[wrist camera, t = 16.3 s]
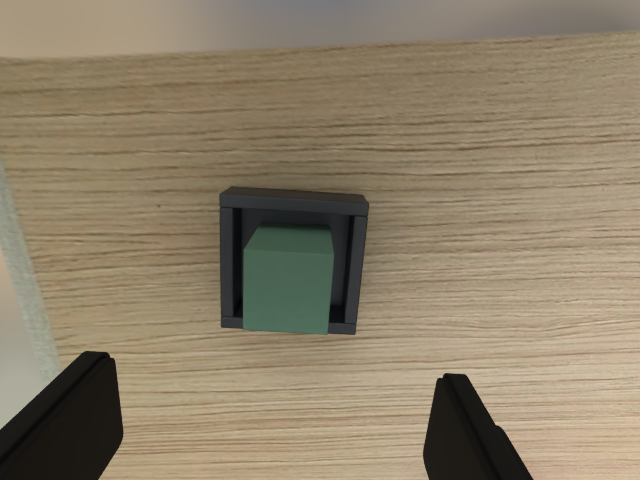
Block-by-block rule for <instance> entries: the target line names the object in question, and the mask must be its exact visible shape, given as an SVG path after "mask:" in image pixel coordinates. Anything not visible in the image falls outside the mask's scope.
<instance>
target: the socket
mask: <svg viewBox="0 0 640 480" xmlns="http://www.w3.org/2000/svg"><path fill="white" fill-rule="evenodd" d="M368 211H369V203H368V202H367V200H366V199H365V198H364V196H363V195H357V194H342V193H326V192H311V191H296V190H280V189H265V188H250V187H234V186H231V187H230V188H228V189H227V190H225V191H224V192H222V193H220V278H221V327H222V328H240V329H243V258H244V248H245V247H246V245H247V244H248V242H249V241H250V239H251V237H252V236H253V234H254V233H255V231H256V229H257V228H258V226H259V225H260V223H261V222H262V221H264V222H279V223H295V224H310V225H326V226H330V229H331V237H332V244H333V251H334V263H333V275H332V287H331V299H330V311H329V323H328V333H330V334H348V335H355V333H356V323H357V314H358V305H359V295H360V286H361V277H362V267H363V258H364V248H365V239H366V229H367V220H368V217H367V216H368Z"/></svg>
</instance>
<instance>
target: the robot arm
mask: <svg viewBox="0 0 640 480" xmlns="http://www.w3.org/2000/svg"><path fill="white" fill-rule="evenodd" d="M122 438H123V424H122V416H121V407H120V398H119V390H118V381H117V373H116V364H115V360H114V358H110V355H109V354H108V353H107V352H95V351H85V352H83V353H82V354H81V355H80V356H79V357H77V358H76V359H75V360H74V361H73V362H72V363H71V364H70V365H69V366H68V367H67V368H66V369H65V370H64V371H63V372H61V373H60V374H59V375H58V376H57V377H56V378H55V379H54V380H53V381H52V382H51V383H50V384H49V385H48V386H47V387H45V388H44V389H43V390H42V391H41V392H40V393H39V394H38V395H37V396H36V397H35V398H34V399H33V400H32V401H31V402H29V403H28V404H27V405H26V406H25V407H24V408H23V409H22V410H21V411H20V412H19V413H18V414H17V415H16V416H15V417H13V418H12V419H11V420H10V421H9V422H8V423H7V424H6V425H5V426H4V427H3V428H2V429H1V430H0V480H98V479H99V478H100V476H101V475H102V473H103V471H104V470H105V468H106V467H107V465H108V464H109V462H110V460H111V459H112V457H113V456H114V454H115V453H116V451H117V449H118V448H119V446H120V444H121V442H122ZM423 459H424V464H425V468H426V471H427V474H428V478H429V480H533V478H532V477H531V475H530V473H529V472H528V470H527V468H526V467H525V465H524V463H523V462H522V460H521V458H520V457H519V455H518V453H517V452H516V450H515V448H514V447H513V445H512V443H511V442H510V440H509V438H508V437H507V435H506V433H505V432H504V431H503V429H502V428H501V427H499V426H498V425H495V423H494V422H493V420H492V418H491V416H490V415H489V413H488V411H487V409H486V408H485V406H484V404H483V403H482V401H481V399H480V397H479V396H478V394H477V392H476V391H475V389H474V387H473V385H472V384H471V382H470V380H469V379H468V377H467V376H466V375H465V374H451V373H445V374H444V375H443V378H438V379H437V382H436V387H435V392H434V397H433V403H432V408H431V413H430V418H429V423H428V428H427V434H426V439H425V444H424V450H423Z"/></svg>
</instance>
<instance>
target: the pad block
mask: <svg viewBox="0 0 640 480" xmlns="http://www.w3.org/2000/svg"><path fill="white" fill-rule="evenodd" d="M333 263H334V251H333V244H332V237H331V229H330V226H326V225H310V224H295V223H279V222H264V221H262V222H261V223H260V225H259V226H258V228H257V229H256V231H255V233H254V234H253V236H252V237H251V239H250V241H249V242H248V244H247V245H246V247H245V248H244V258H243V330H254V331H272V332H290V333H307V334H325V335H327V334H328V323H329V311H330V299H331V287H332V275H333Z"/></svg>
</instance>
